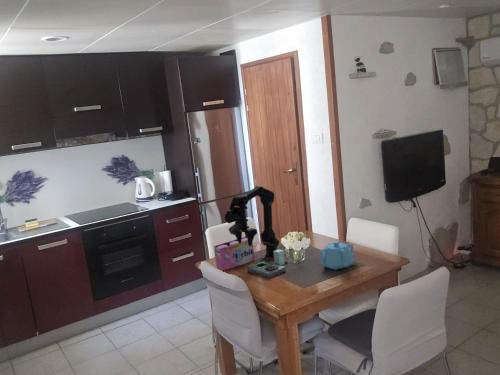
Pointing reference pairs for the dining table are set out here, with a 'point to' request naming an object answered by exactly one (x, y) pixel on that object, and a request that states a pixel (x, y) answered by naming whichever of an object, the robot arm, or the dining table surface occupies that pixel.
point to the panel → (266, 269)
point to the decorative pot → (337, 255)
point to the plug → (279, 257)
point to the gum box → (233, 254)
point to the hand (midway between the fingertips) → (245, 244)
